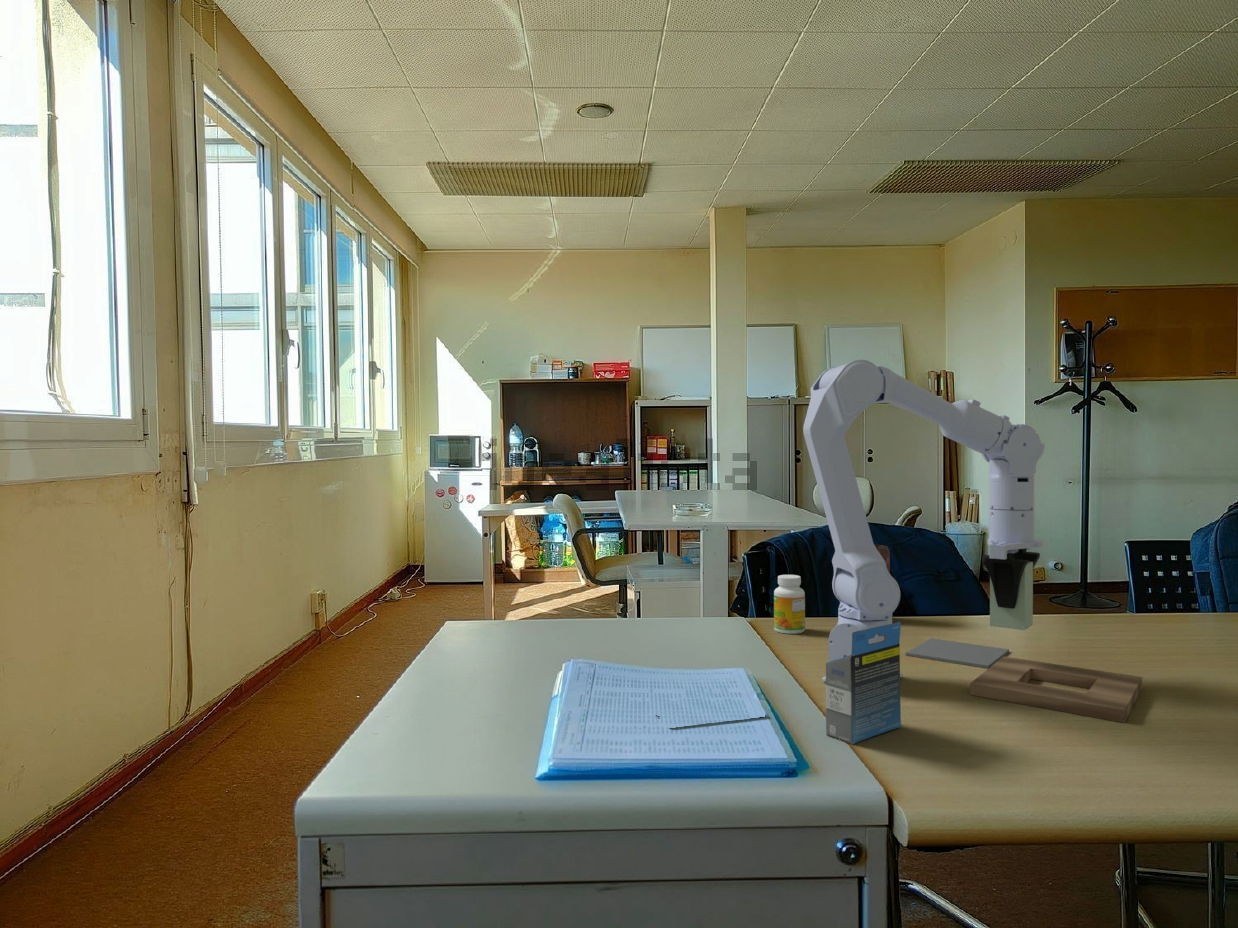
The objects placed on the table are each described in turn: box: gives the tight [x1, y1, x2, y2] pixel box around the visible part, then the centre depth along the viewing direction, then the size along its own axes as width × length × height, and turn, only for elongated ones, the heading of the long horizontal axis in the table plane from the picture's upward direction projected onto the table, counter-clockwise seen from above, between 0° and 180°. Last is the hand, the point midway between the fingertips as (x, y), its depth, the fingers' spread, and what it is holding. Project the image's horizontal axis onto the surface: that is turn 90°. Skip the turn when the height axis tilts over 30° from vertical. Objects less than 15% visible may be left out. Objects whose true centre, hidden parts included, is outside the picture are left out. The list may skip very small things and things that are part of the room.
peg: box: [989, 562, 1034, 631], centre depth 111 cm, size 4×4×9 cm
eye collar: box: [969, 655, 1143, 724], centre depth 103 cm, size 17×17×2 cm
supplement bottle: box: [773, 574, 806, 635], centre depth 138 cm, size 5×5×10 cm
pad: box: [905, 638, 1010, 669], centre depth 122 cm, size 12×12×1 cm
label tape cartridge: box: [825, 621, 902, 745], centre depth 88 cm, size 9×4×12 cm, turn 126°
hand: (1011, 604), depth 111 cm, fingers closed on peg, 4 cm apart
